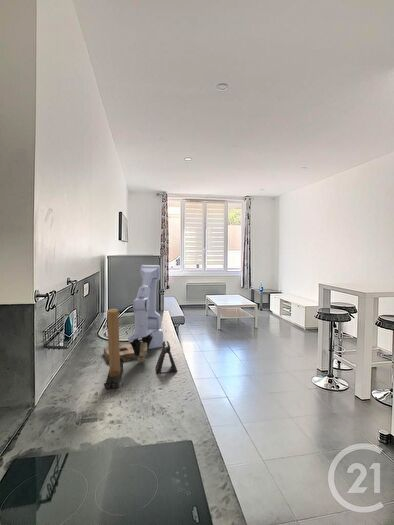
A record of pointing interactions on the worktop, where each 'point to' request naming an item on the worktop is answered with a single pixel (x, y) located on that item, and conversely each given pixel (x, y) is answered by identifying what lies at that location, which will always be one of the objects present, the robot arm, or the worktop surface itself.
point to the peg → (142, 352)
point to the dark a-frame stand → (161, 358)
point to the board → (123, 352)
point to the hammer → (114, 351)
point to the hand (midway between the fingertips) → (141, 353)
